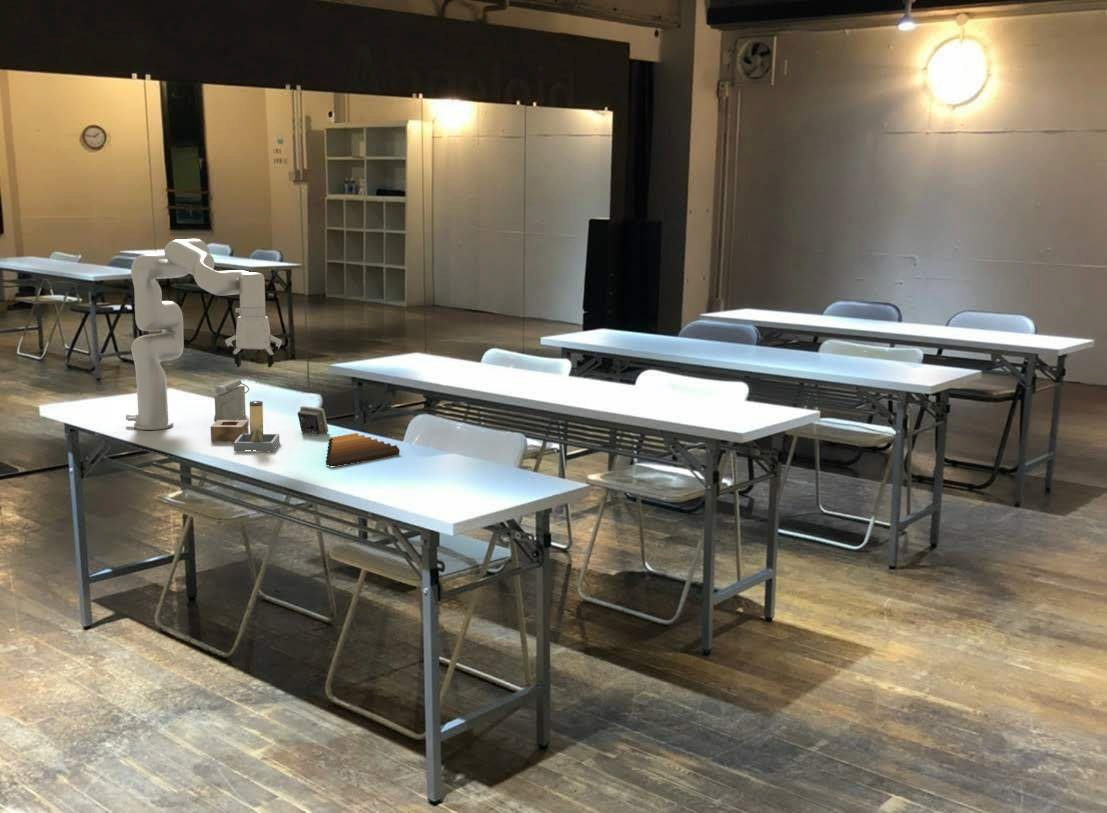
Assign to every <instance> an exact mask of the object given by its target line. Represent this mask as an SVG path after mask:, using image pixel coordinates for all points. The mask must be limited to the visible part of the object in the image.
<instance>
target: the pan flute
mask: <svg viewBox="0 0 1107 813" xmlns="http://www.w3.org/2000/svg"><path fill="white" fill-rule="evenodd" d="M327 445H328V446H327V450H326V451H327V453H326V457H325V458H326V460H325V465H329V466H338V465H344V464H349V465H352V464H351V463H354V464H358V463H357V462H359V463H363V461H364V462H369V461H373V460H378V459H379V460H380V459H383V458H384V457H385V458H389V457H393V456H399V455H400V448H399V447H398V446H397V445H396V444H395V445H392V444H391V443H390V442H388V443H385V441H384V440H381V441H379V440H378V439H377V438H376V439H375V438H374V439H372V437H371V436H369V437H366V436H365V435H364V434H363V435H361V434H360V435H359V433H358V432H355V433H349V434H344V435H338V436H333V437H330V438H329V440H328V444H327ZM344 466H345V465H344ZM338 467H339V466H338Z"/></svg>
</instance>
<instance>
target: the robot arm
mask: <svg viewBox="0 0 1107 813" xmlns="http://www.w3.org/2000/svg"><path fill="white" fill-rule="evenodd" d="M214 268H215V259H214V257H213V255H211V252H210V247H209V246H208V244H207V243H206V242H205V241H203V240H202V239H199V238H187V239H185V238H184V239H174V240H171V241H170V242H168V243H167V244H166V245H165V247H164V252H149V253H144V254H140V255H138V256H137V257H135V259H133V261H132V263H131V267H130V276H131V280H132V284H133V290H134V314H135V315H134V317H135V319H134V320H135V325H136V326H137V328H138V329H139V330H140V331H143V332H155V331H161V332H160V333H152V334H145V335H140V336H138V337H136V338H135V339H134V340H133V341H132V343H131V349H130V350H131V355H132V358H133V363H134V369H135V379H136V380H135V381H136V395H137V397H136V398H137V413H135V414H126V415H125V420H126V421H127V422H132V421H133V422H134V424H133V427H134V429H136V430H139V431H140V430H143V431H159V430H165V429H170V428H172V427H173V426H174V421H173V420H169V409H168V405H169V404H168V387H167V386H168V385H167V375H166V372H165V369H164V368H163V367H162V365H161V362H167V361H173V360H177V359H178V358H180V357H181V356H182V354H183V351H184V345H185V344H184V342H185V341H184V340H185V339H184V317H183V316H184V315H183V311H182V309H181V307H180V306H179V304H177V303H176V302H175V301H173V300H171V301H170V300H163V293H162V292H163V291H162V288H161V286H160V284H159V282H158V281H157V280H158V279H174V278H175V279H179V278H183V277H185V276H187V275H188V274H190V275H192V276H193V279H194V280H195V283H196V284H197V286H198V287H199V288H201V289H202V290H204V291H206V292H208V293H209V294H212V295H214V296H231V295H233V296H234V295H239V307H238V308H235V313H237V314H239V316H238V317H237V318H236V319H237V320H236V328H235V329H236V330H235V331H236V332H235V335H233V336H231V337H229V338H226V339H225V340H224V342H225V344H226V346H227V348H228V349H229V350H230V351H231V353H232V354H233V355H234V364H235V365H236V367H237V368H239V367H241V366H242V355H241V353H240V351H241V350H265V351H266V352H267V353H268V355H267V367H268V368H271V367H273V365H274V364H275V361H274V360H275V359H274V358H275V356H274V354H275V353H276V352H277V351H278V350H279V349H280V347H281V345H282V343H283V340H282V339H280V338H278V337H275V336H274V335H272V334H271V328H270V327H271V326H270V323H269V322H270V321H269V317H268V316H266V292H265V291H266V290H265V287H266V286H265V285H266V284H265V276H264V274H263V273H261V272H256V271H255V272H249V271H247V270H243V269H236V270H219V271H218V270H216V269H214ZM233 341H235V345H233V344H232V342H233ZM272 342H273V343H275V346H274V347H272V344H271V343H272Z"/></svg>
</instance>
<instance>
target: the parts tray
mask: <svg viewBox="0 0 1107 813" xmlns="http://www.w3.org/2000/svg"><path fill="white" fill-rule="evenodd" d="M278 443H279V444H280V433H263V442H250V433H249V434H241V435H240V436H239V437H238V438H237V439H236V440H235V442H233V452H234V451H245V450H251V451H253V450H256V451H273V450H274V449H275V450H276V448H277V447H278V446H277V445H279V444H278ZM276 446H277V447H276ZM275 447H276V448H275ZM275 450H274V451H275ZM274 451H273V452H274Z"/></svg>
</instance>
